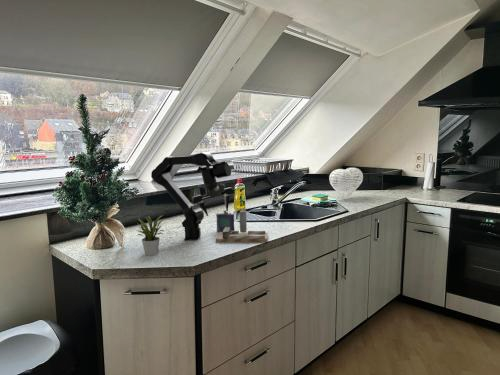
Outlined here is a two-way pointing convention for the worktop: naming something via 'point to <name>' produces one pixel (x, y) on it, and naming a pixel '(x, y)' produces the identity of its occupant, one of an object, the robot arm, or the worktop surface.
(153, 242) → the house plant
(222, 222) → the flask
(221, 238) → the bench
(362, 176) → the heart
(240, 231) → the handle
